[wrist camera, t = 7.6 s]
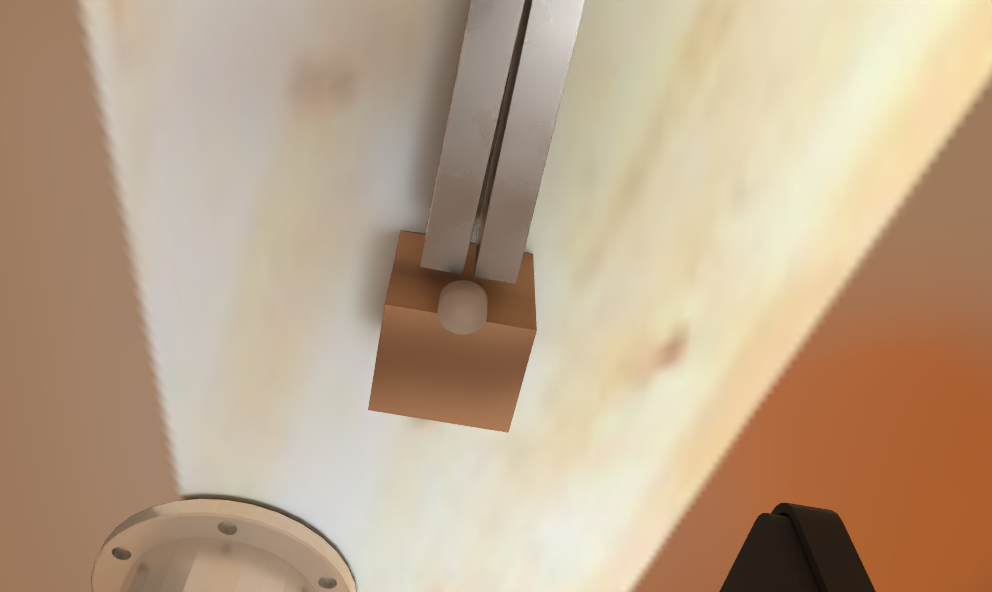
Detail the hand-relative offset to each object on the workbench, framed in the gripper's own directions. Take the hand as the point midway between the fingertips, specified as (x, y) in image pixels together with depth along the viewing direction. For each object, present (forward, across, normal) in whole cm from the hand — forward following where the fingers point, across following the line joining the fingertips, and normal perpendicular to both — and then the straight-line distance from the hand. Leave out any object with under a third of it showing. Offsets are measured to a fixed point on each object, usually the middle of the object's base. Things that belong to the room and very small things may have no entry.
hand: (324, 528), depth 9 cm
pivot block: (+22, -3, +9) cm, 24 cm away
